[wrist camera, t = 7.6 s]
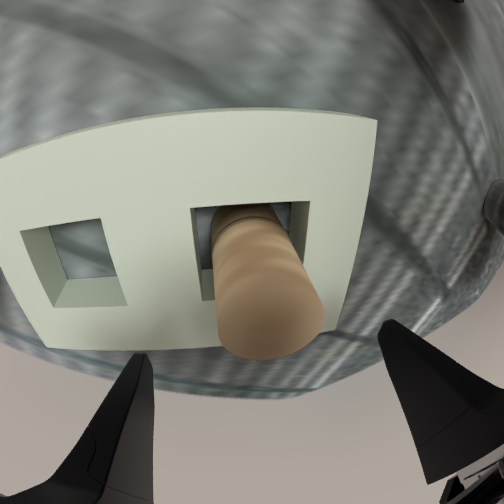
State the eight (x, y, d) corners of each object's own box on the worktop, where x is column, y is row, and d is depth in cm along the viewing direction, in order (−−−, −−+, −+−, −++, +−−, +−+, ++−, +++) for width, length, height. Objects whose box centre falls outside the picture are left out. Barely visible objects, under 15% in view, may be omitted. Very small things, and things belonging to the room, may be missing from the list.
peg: (279, 192, 16) (335, 279, 9) (276, 253, 18) (316, 352, 11) (207, 197, 15) (211, 292, 8) (212, 258, 17) (221, 366, 11)
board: (348, 113, 13) (377, 120, 11) (321, 302, 21) (335, 329, 18) (-3, 157, 11) (-31, 173, 8) (57, 320, 18) (46, 347, 16)
